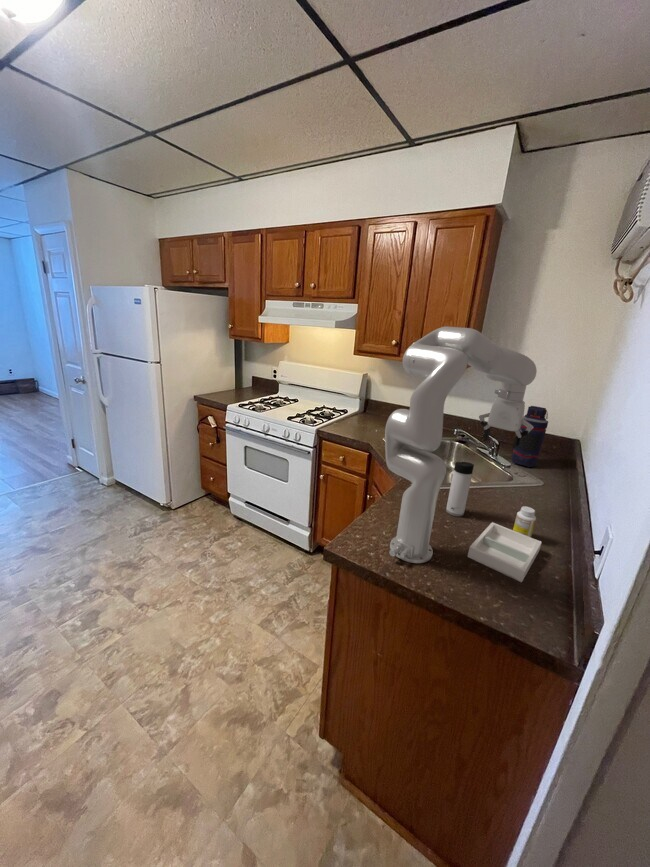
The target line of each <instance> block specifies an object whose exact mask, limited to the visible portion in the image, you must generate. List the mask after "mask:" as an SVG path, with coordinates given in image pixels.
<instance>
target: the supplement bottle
mask: <svg viewBox="0 0 650 867" xmlns="http://www.w3.org/2000/svg"><path fill="white" fill-rule="evenodd" d="M535 513H536V510H535V509H533V508H532V507H531V506H526V505H525V506H521V508H520V510H519V511H518V512H517V513H516V516H515V519H514V524H513V528H512V530H513V531H516V532H518V533H521V534H523V535H526V536H528V537H531V538H532V534H533V531H534V527H535V525H536V524H535V523H536V521H537V517H536V516H535Z"/></svg>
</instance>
